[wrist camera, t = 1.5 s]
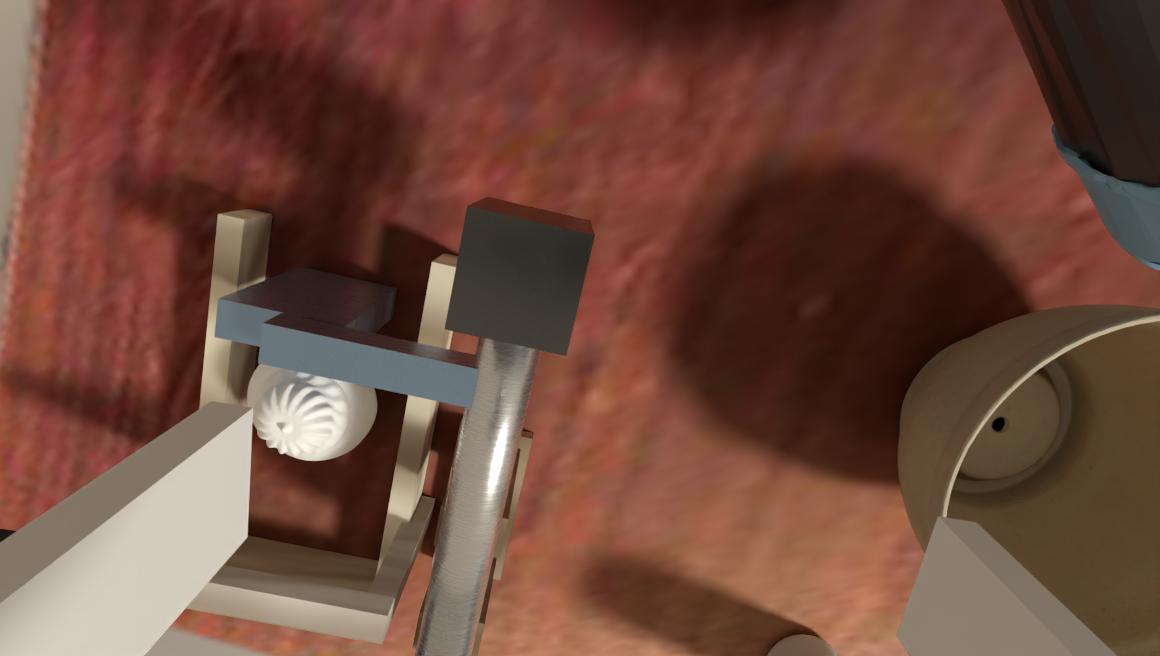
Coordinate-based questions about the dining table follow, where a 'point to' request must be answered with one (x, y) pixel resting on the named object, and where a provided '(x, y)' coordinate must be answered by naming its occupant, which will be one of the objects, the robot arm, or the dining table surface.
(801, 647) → the beverage can
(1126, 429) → the planter bowl
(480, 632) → the cream cubby shelf
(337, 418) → the white lumpy mound
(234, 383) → the beige open frame
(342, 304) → the hammer
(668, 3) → the dining table surface
